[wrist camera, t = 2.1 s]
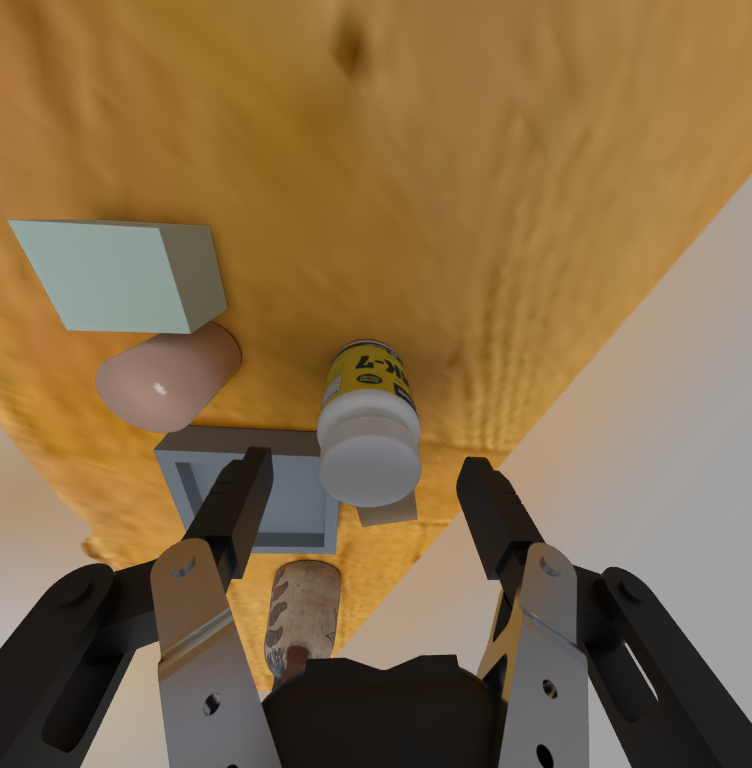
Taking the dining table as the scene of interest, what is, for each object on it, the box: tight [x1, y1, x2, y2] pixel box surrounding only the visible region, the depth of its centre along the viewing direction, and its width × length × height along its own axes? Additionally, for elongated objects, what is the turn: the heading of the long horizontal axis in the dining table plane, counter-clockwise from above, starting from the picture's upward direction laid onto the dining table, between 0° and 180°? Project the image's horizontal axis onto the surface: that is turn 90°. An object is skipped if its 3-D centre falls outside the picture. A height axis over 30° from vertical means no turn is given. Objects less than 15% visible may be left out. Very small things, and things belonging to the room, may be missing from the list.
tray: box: [154, 426, 339, 554], centre depth 22 cm, size 12×12×2 cm
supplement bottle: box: [317, 340, 421, 507], centre depth 14 cm, size 5×5×8 cm
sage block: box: [8, 220, 228, 334], centre depth 12 cm, size 4×5×4 cm
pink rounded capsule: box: [95, 321, 241, 433], centre depth 14 cm, size 4×4×5 cm
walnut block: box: [356, 489, 418, 527], centre depth 20 cm, size 4×4×4 cm
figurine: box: [264, 560, 341, 691], centre depth 25 cm, size 7×7×12 cm
